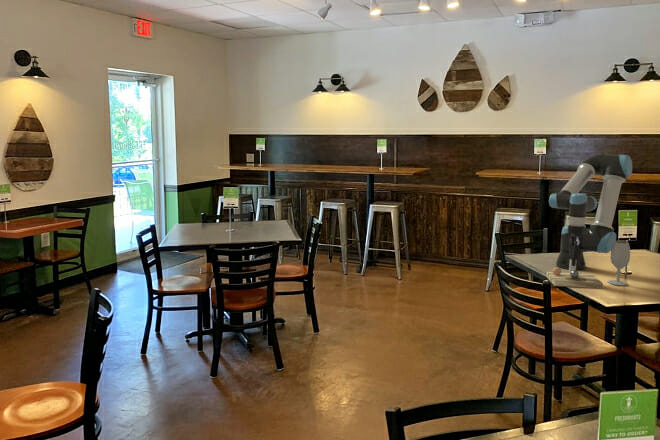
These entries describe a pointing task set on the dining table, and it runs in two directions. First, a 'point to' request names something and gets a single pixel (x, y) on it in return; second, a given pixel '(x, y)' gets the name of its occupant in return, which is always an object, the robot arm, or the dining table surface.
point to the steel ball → (574, 274)
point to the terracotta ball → (556, 270)
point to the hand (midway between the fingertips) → (572, 271)
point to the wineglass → (620, 259)
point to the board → (574, 280)
